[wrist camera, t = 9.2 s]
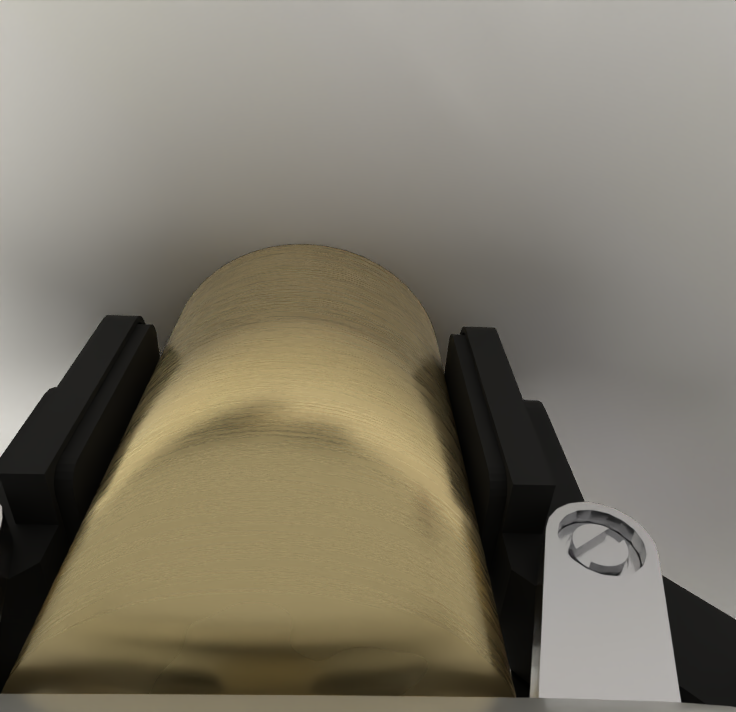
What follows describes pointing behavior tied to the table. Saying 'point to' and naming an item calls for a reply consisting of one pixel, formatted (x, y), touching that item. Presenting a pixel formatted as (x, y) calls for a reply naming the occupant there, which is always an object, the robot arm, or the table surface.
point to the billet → (281, 507)
